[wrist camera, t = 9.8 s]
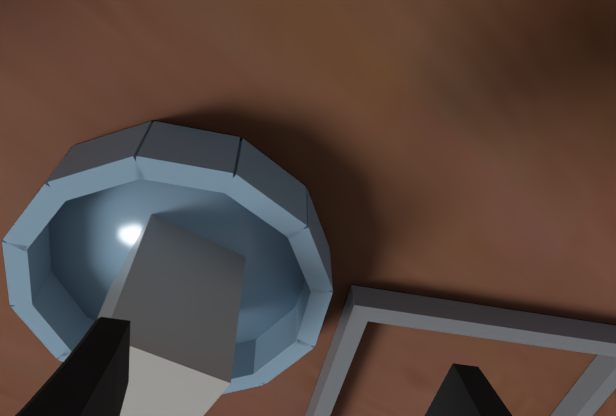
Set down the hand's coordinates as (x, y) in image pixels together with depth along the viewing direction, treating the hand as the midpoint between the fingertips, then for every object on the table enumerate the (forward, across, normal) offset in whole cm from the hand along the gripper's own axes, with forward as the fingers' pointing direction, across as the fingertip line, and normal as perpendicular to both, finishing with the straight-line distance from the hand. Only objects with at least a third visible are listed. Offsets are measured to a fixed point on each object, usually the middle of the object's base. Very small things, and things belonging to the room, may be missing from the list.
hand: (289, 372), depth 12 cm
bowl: (+9, +4, +5) cm, 11 cm away
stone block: (+9, +4, +5) cm, 11 cm away
